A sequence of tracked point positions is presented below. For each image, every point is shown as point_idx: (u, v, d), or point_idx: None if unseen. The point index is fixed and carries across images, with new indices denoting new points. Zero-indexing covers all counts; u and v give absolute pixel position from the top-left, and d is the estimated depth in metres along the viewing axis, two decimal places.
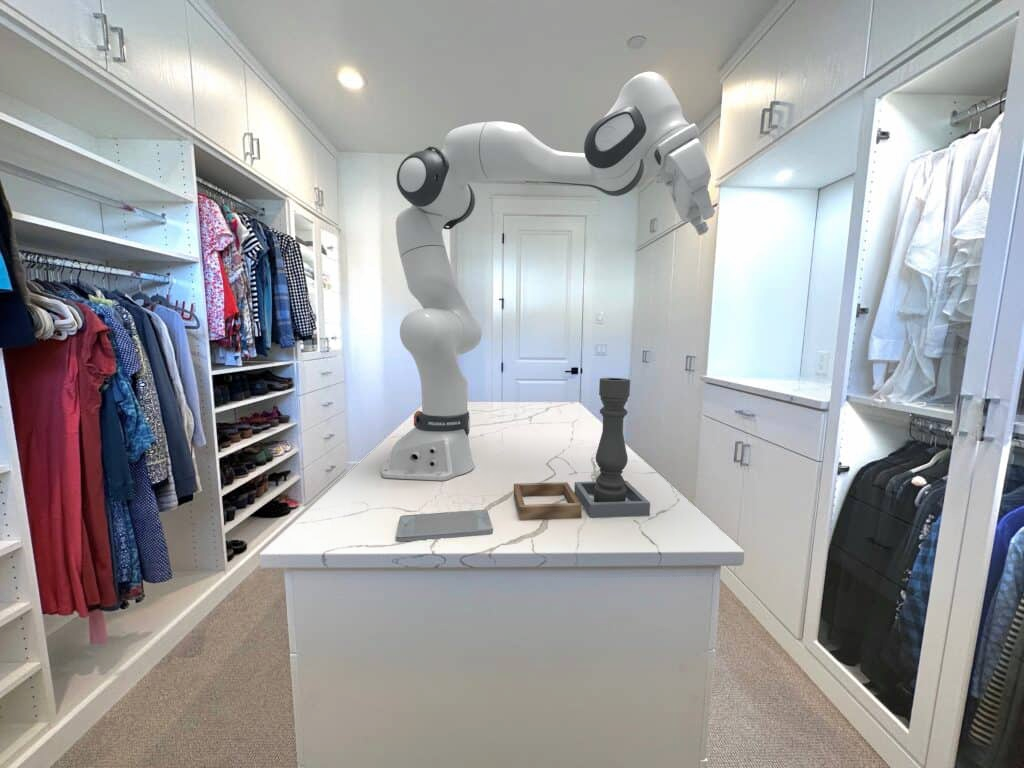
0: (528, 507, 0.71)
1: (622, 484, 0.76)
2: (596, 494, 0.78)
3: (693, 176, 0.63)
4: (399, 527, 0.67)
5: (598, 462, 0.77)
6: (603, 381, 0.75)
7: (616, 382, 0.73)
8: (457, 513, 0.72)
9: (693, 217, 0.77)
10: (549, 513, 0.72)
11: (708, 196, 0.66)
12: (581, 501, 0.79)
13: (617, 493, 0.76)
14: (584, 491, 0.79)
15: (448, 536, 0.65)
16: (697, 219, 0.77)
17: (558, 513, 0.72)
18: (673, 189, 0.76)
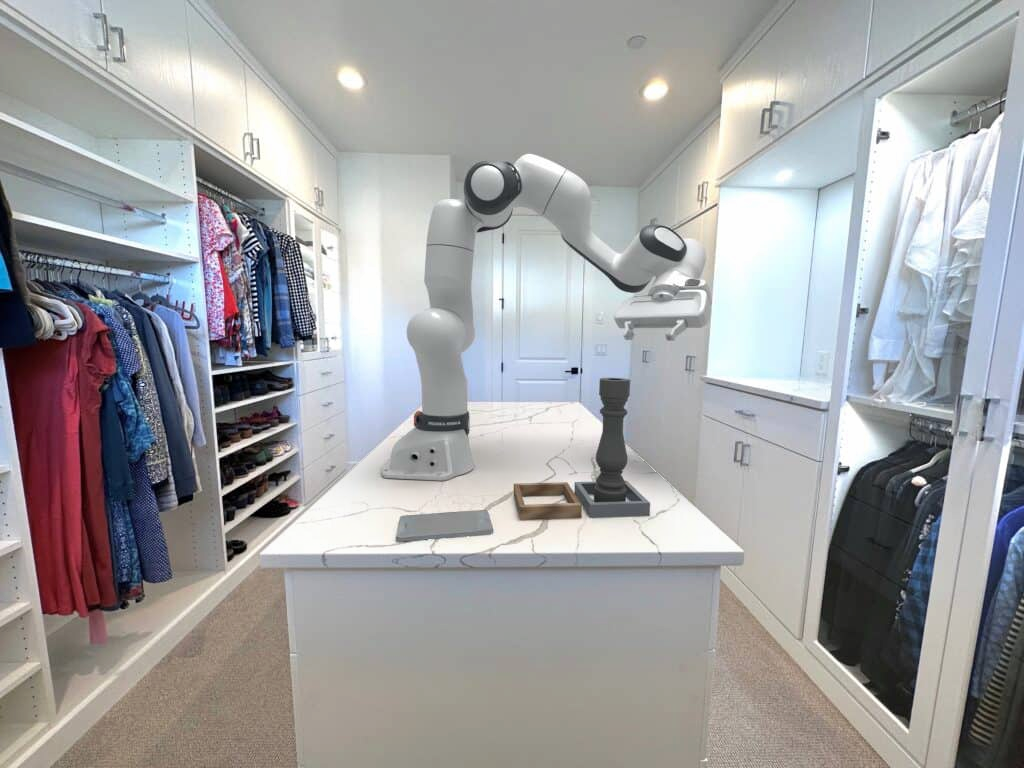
0: (528, 507, 0.71)
1: (622, 484, 0.76)
2: (596, 494, 0.78)
3: (704, 315, 0.79)
4: (399, 527, 0.67)
5: (598, 462, 0.77)
6: (603, 381, 0.75)
7: (616, 382, 0.73)
8: (457, 513, 0.72)
9: (631, 324, 0.89)
10: (549, 513, 0.72)
11: (682, 331, 0.81)
12: (581, 501, 0.79)
13: (617, 493, 0.76)
14: (584, 491, 0.79)
15: (448, 536, 0.65)
16: (629, 328, 0.89)
17: (558, 513, 0.72)
18: (645, 301, 0.90)
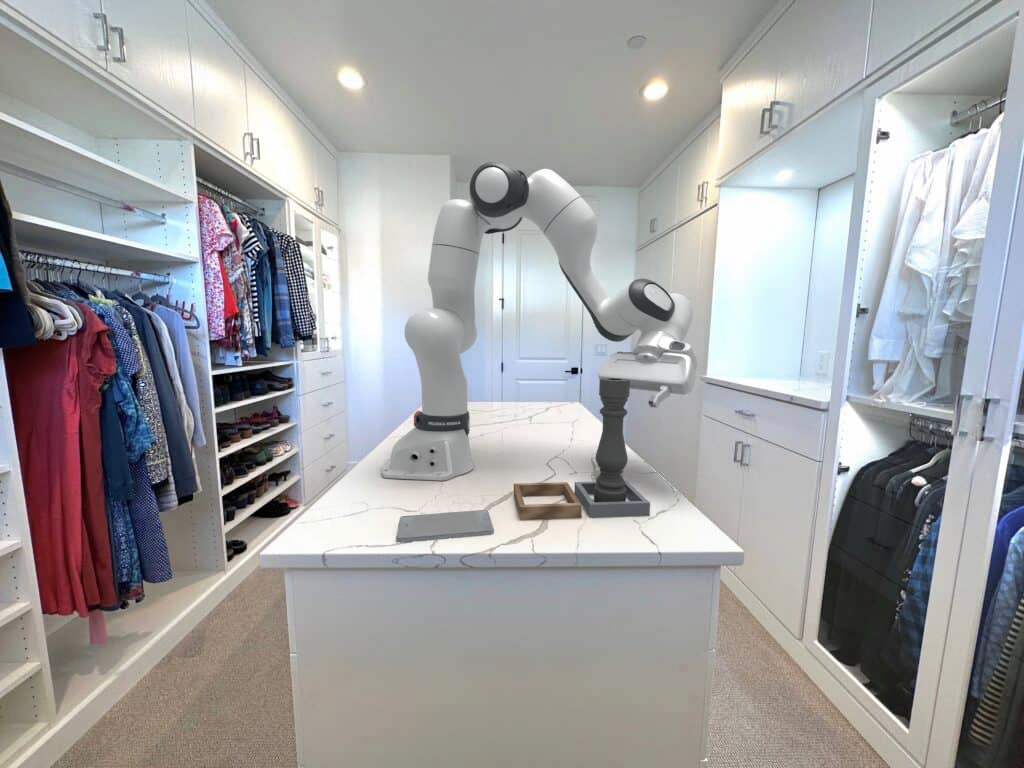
0: (528, 507, 0.71)
1: (622, 484, 0.76)
2: (596, 494, 0.78)
3: (688, 383, 0.77)
4: (399, 528, 0.67)
5: (598, 462, 0.77)
6: (603, 381, 0.75)
7: (616, 382, 0.73)
8: (458, 513, 0.72)
9: None
10: (549, 513, 0.72)
11: (665, 397, 0.79)
12: (581, 501, 0.79)
13: (617, 493, 0.76)
14: (584, 491, 0.79)
15: (449, 537, 0.65)
16: None
17: (558, 513, 0.72)
18: (630, 360, 0.87)
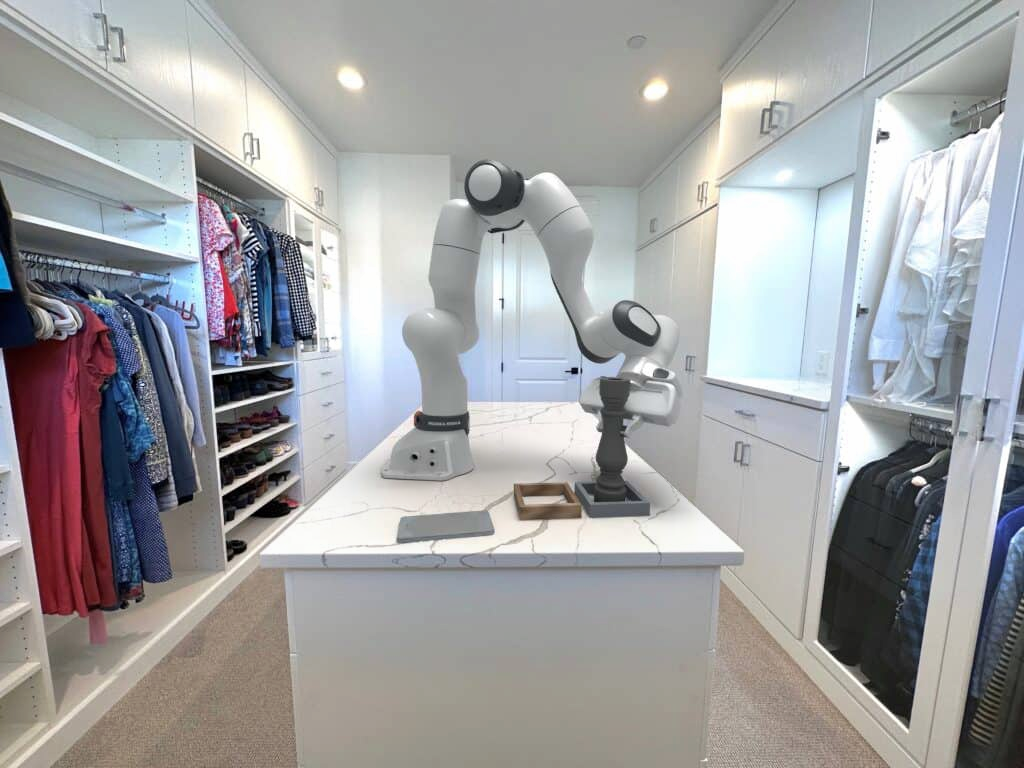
0: (528, 507, 0.71)
1: (622, 484, 0.76)
2: (596, 494, 0.78)
3: (672, 415, 0.72)
4: (400, 528, 0.67)
5: (598, 462, 0.77)
6: (603, 381, 0.74)
7: (616, 382, 0.73)
8: (458, 514, 0.72)
9: None
10: (549, 513, 0.72)
11: (638, 427, 0.76)
12: (581, 501, 0.79)
13: (617, 493, 0.76)
14: (584, 491, 0.79)
15: (449, 537, 0.65)
16: None
17: (558, 513, 0.72)
18: None
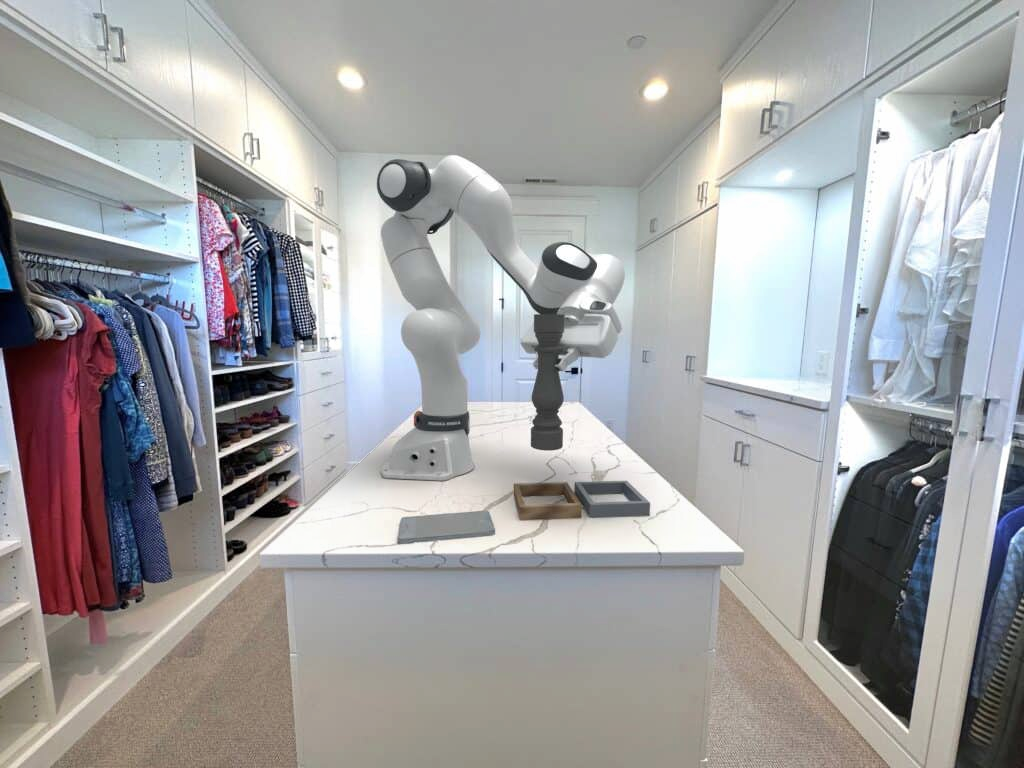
0: (528, 507, 0.71)
1: (557, 423, 0.74)
2: (532, 435, 0.75)
3: (605, 344, 0.69)
4: (400, 529, 0.66)
5: (533, 401, 0.74)
6: (536, 315, 0.72)
7: (548, 315, 0.70)
8: (458, 514, 0.72)
9: None
10: (549, 513, 0.72)
11: (573, 361, 0.73)
12: (581, 501, 0.79)
13: (551, 433, 0.73)
14: (584, 491, 0.79)
15: (450, 537, 0.65)
16: None
17: (558, 513, 0.72)
18: None
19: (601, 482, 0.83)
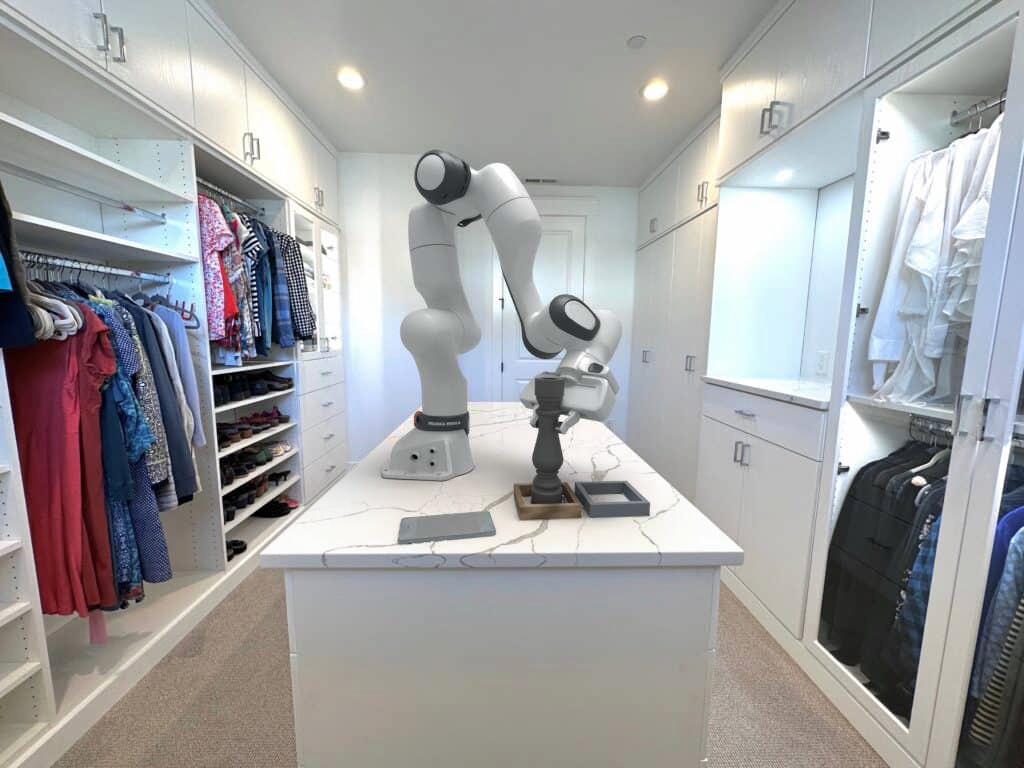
0: (528, 507, 0.71)
1: (557, 485, 0.75)
2: (532, 495, 0.77)
3: (603, 410, 0.71)
4: (401, 529, 0.66)
5: (533, 462, 0.76)
6: (537, 380, 0.74)
7: (549, 381, 0.72)
8: (459, 515, 0.72)
9: None
10: (549, 513, 0.72)
11: (574, 423, 0.74)
12: (581, 501, 0.79)
13: (551, 494, 0.75)
14: (584, 491, 0.79)
15: (451, 538, 0.64)
16: None
17: (558, 513, 0.72)
18: None
19: (601, 482, 0.83)
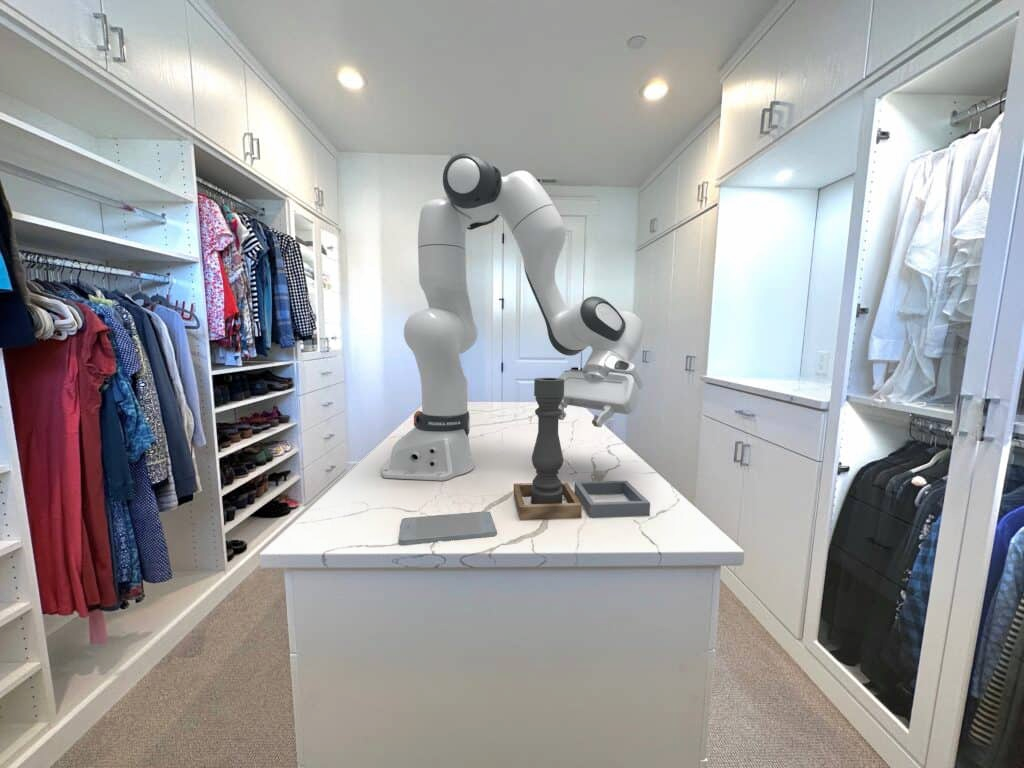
0: (528, 507, 0.71)
1: (557, 485, 0.75)
2: (532, 495, 0.77)
3: (630, 403, 0.78)
4: (401, 530, 0.66)
5: (533, 463, 0.76)
6: (537, 381, 0.73)
7: (548, 382, 0.72)
8: (460, 515, 0.72)
9: (563, 403, 0.87)
10: (549, 513, 0.72)
11: (609, 417, 0.80)
12: (581, 501, 0.79)
13: (551, 495, 0.75)
14: (584, 491, 0.79)
15: (452, 539, 0.64)
16: (562, 406, 0.88)
17: (558, 513, 0.72)
18: (579, 378, 0.88)
19: (601, 482, 0.83)
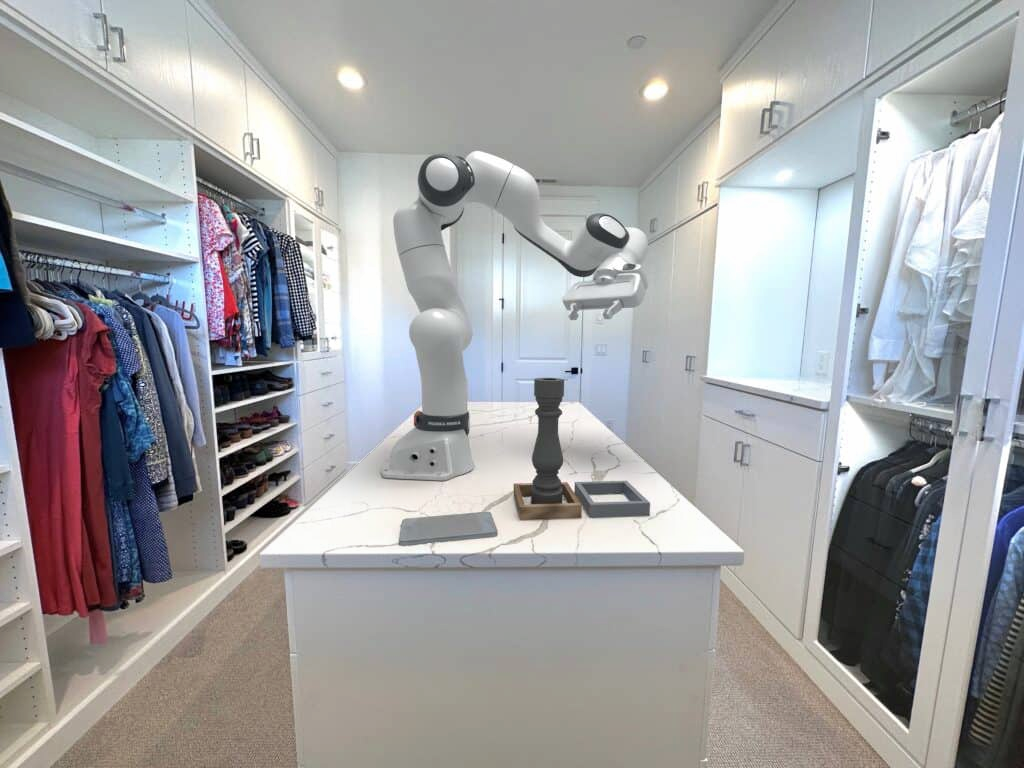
0: (528, 507, 0.71)
1: (557, 485, 0.75)
2: (532, 495, 0.77)
3: (637, 295, 0.87)
4: (402, 531, 0.66)
5: (533, 463, 0.76)
6: (536, 381, 0.73)
7: (548, 382, 0.72)
8: (460, 515, 0.71)
9: (576, 306, 0.97)
10: (549, 513, 0.72)
11: (618, 311, 0.89)
12: (581, 501, 0.79)
13: (551, 495, 0.75)
14: (584, 491, 0.79)
15: (452, 539, 0.64)
16: (574, 309, 0.97)
17: (558, 513, 0.72)
18: (590, 284, 0.97)
19: (601, 482, 0.83)
